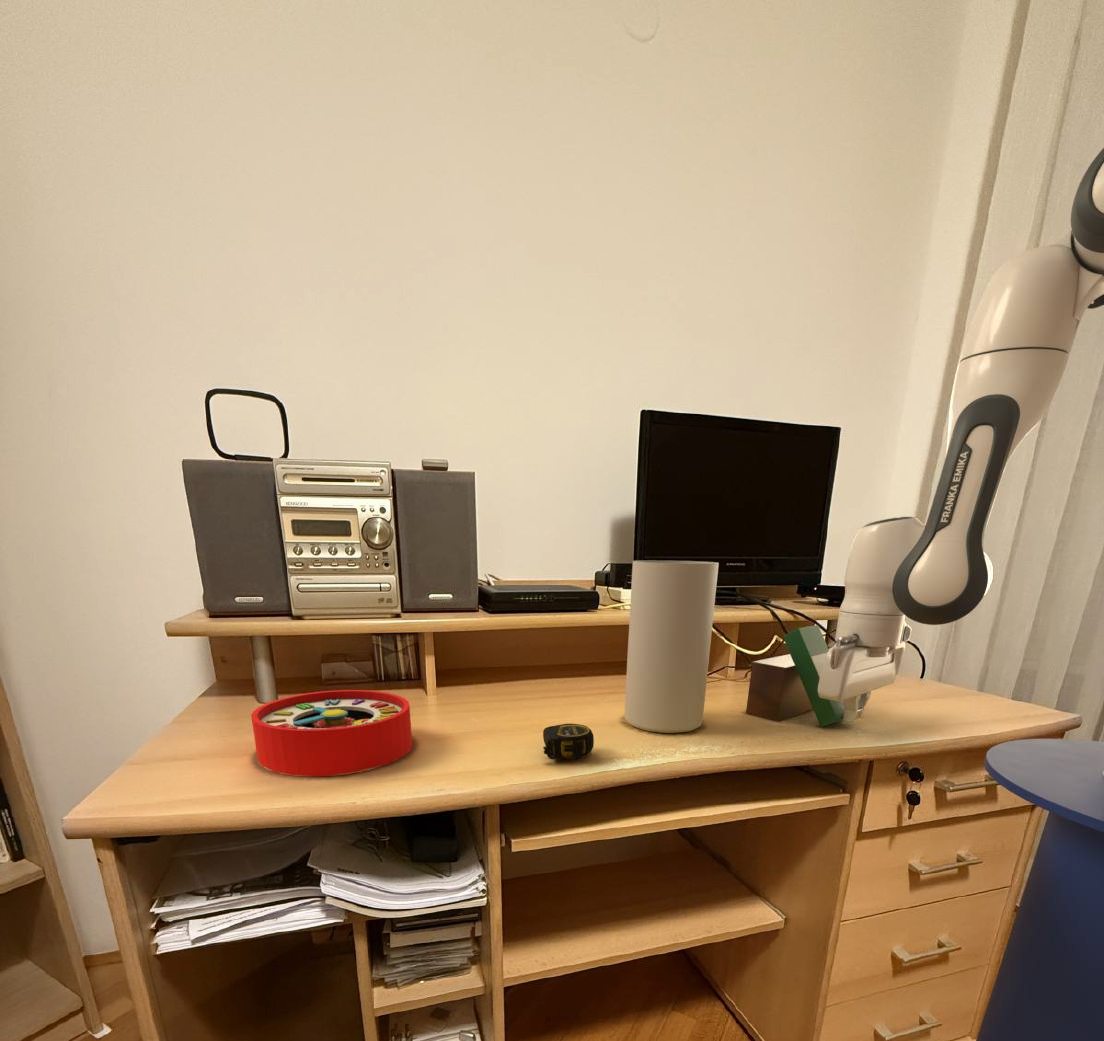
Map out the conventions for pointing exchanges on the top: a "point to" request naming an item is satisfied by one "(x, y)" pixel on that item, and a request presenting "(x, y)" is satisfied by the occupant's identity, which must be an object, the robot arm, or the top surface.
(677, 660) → the cylinder vase
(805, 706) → the block
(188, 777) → the top surface
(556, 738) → the tape measure
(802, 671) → the block
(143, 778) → the top surface
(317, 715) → the toy clock
